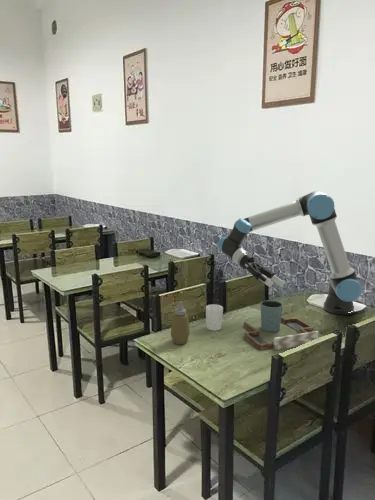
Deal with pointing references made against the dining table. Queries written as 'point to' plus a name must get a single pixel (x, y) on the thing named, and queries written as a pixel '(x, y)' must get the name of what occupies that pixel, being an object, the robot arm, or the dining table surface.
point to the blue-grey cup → (271, 315)
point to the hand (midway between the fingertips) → (277, 285)
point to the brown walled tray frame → (283, 341)
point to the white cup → (214, 317)
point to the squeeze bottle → (180, 325)
